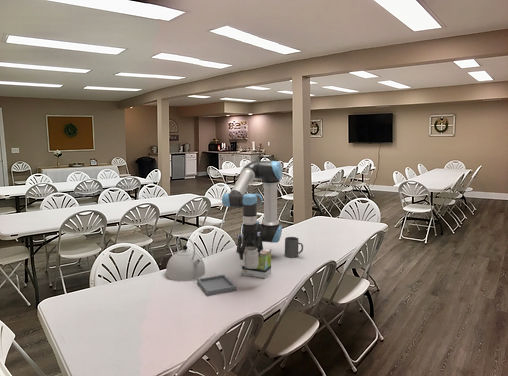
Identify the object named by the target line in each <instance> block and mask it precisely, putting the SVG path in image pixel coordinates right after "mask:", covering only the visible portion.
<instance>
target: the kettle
mask: <svg viewBox="0 0 508 376" xmlns="http://www.w3.org/2000/svg"><path fill="white" fill-rule="evenodd" d="M181 238H184V239H187V240H188V241H189V242H190V243H191V244H192V247H193V250H191V249H188V246H187V245H183V246H182V250H180V249H179V245H178V243H179V240H180V239H181ZM175 246H176V247H175V248H176V250H177V252H175V253H173V255H171V257H170V258H169V260H168V262H167V264H166V269H165V272H166V273H165V277H166V278H167V279H170V280H172V281H178V282H179V281H180V282H188V281H194V280H197V279H200V278H203V277H204V276H205V274H206V269H205V267H206V266H205V263H204V260H203V258H202V257H201V255H200V254H198V253H197V252H196V246H195V243H194V242H193V240H192V239H191V238H189V237H187V236H186V235H185V236H183V235H180V236H178V238H177V239H176V244H175Z"/></svg>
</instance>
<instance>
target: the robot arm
mask: <svg viewBox="0 0 508 376" xmlns="http://www.w3.org/2000/svg"><path fill="white" fill-rule="evenodd" d="M257 179H258V180H261V181H260V182H261V184H263V196H262V194H260V193H246V191H247V189H248V187H249V185H250V184H251V182H253V181H254V180H257ZM282 179H283V168H282V164H281V163H280V161H278V160H277V161H276V160H253V161H251V162H248V163H247V164H245V166H243V167H242V169H241V171H240V173H239V177H238V178H237V180H236V182H235V183H234V185H233V186H232V188H231V190H230V191H229V192H226V193H223V195H222V197H221V203H222V205H223V206H224V207H227V208H242V226H241V233H240V234H237V235H236V236H237V244H236V254H239V259H240V260H241V261H240V265H241V266H242V265H243V266H245V254H244V250H245V247H247V248H248V247H255V248H257V250H258V257H260V252H261V250H263V249H264V246H263V243H271V244H272V243H273V244H274V243H275V244H276V243H279V242H280V240H281V237H282V230H283V226H282V225H281V224H280V221H279V220H278V185H279V184H280V181H281V180H282ZM262 204H263V216H264V217H263V221H261V223H260V221H258V209H259V208H260V207H261V206H262Z"/></svg>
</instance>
